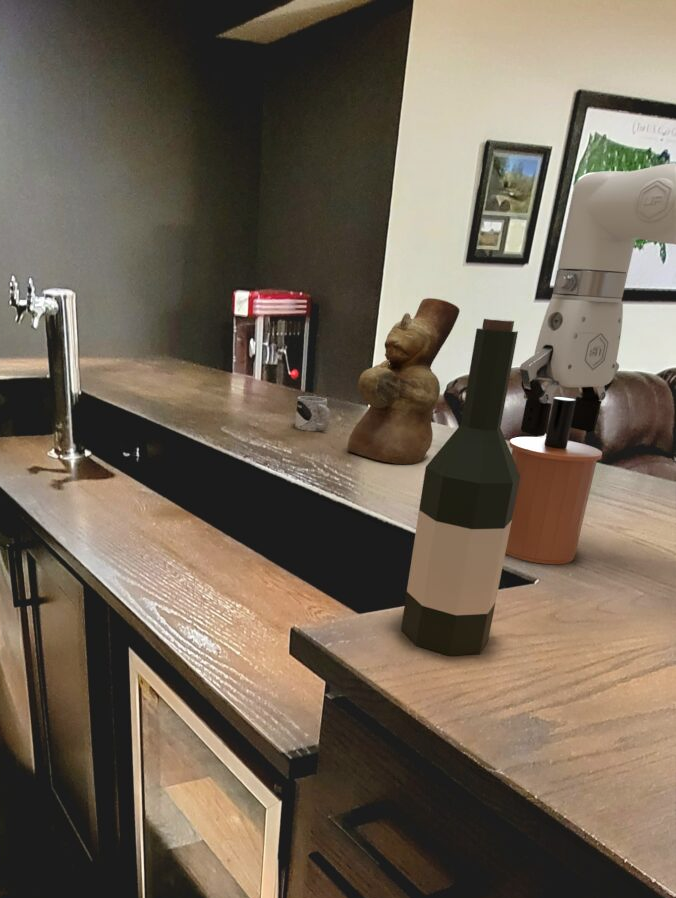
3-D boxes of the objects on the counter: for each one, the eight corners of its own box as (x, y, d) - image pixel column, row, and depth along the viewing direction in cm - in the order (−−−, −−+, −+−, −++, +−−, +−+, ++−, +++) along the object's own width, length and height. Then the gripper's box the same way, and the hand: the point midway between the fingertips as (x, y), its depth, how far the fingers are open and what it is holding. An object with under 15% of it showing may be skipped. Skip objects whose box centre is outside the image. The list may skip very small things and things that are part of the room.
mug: (289, 425, 165) (292, 396, 163) (313, 424, 168) (316, 395, 166) (314, 434, 157) (317, 404, 155) (339, 433, 160) (342, 403, 158)
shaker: (554, 539, 100) (575, 444, 96) (587, 566, 91) (612, 463, 87) (484, 534, 100) (502, 439, 96) (510, 562, 91) (530, 458, 86)
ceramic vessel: (331, 449, 144) (348, 293, 135) (402, 440, 157) (422, 296, 147) (392, 468, 132) (415, 298, 123) (464, 457, 145) (490, 302, 136)
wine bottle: (437, 609, 76) (487, 316, 67) (506, 643, 70) (571, 324, 60) (383, 627, 72) (428, 315, 62) (451, 665, 65) (513, 323, 56)
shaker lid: (576, 448, 97) (588, 394, 94) (617, 469, 86) (631, 409, 84) (496, 443, 96) (506, 389, 94) (527, 463, 86) (539, 403, 84)
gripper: (568, 286, 78) (536, 442, 83) (662, 293, 86) (627, 434, 92) (512, 283, 84) (486, 428, 89) (604, 289, 92) (575, 422, 98)
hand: (557, 431), depth 90 cm, fingers open, 9 cm apart
